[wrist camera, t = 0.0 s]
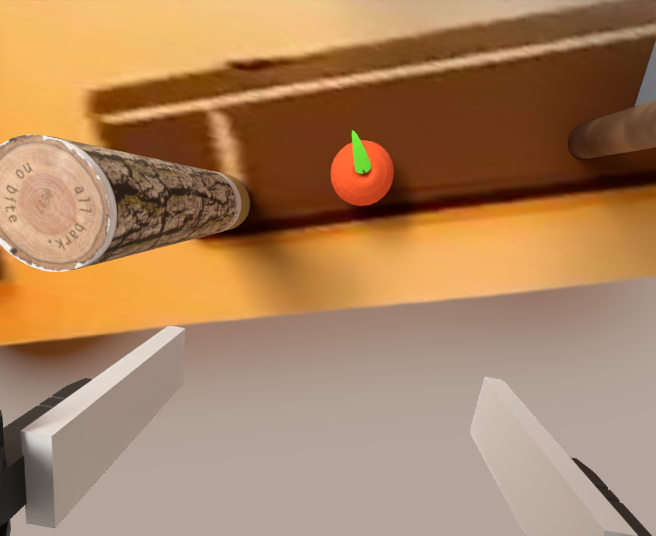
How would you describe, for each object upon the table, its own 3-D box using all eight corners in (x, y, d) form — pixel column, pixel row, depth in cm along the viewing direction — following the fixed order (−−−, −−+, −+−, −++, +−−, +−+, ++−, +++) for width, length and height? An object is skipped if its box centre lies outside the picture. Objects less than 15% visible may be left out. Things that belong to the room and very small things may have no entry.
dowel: (574, 119, 37) (725, 66, 22) (609, 124, 37) (785, 75, 22) (563, 156, 38) (702, 129, 23) (598, 161, 38) (760, 137, 23)
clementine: (322, 146, 39) (317, 134, 32) (379, 129, 38) (387, 113, 31) (340, 212, 40) (339, 214, 33) (395, 196, 40) (406, 195, 33)
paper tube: (262, 199, 40) (136, 198, 16) (230, 240, 42) (67, 297, 17) (219, 162, 40) (18, 102, 15) (187, 205, 41) (-44, 213, 17)
